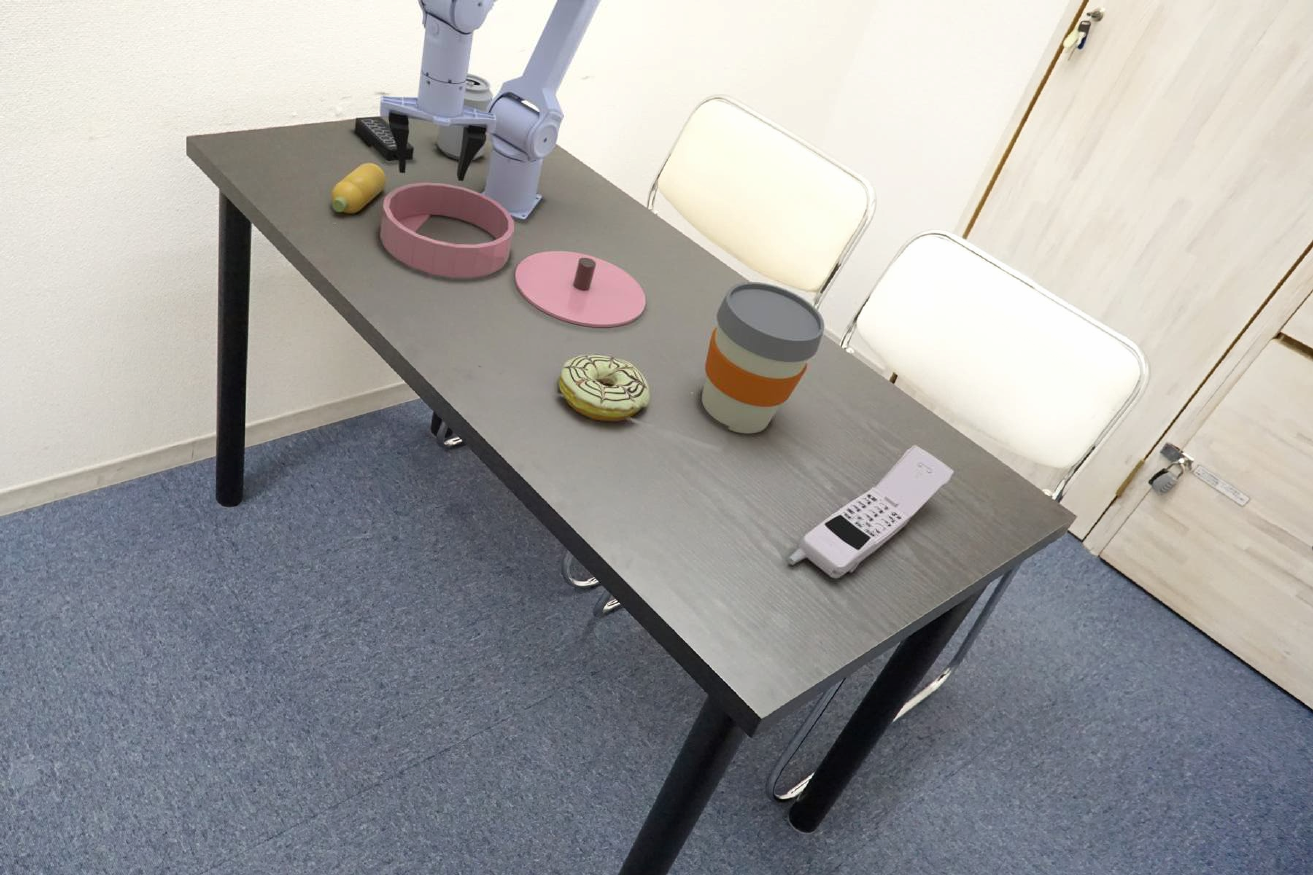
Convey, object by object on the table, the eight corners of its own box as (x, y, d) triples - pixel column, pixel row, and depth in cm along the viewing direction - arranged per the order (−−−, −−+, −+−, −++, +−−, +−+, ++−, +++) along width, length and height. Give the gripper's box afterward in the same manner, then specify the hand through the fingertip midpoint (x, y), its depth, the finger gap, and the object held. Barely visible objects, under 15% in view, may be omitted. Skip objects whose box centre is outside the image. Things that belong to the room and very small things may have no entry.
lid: (536, 244, 138) (542, 213, 135) (654, 284, 138) (663, 255, 135) (495, 302, 124) (501, 269, 121) (628, 347, 124) (637, 315, 121)
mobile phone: (957, 470, 111) (846, 556, 94) (936, 507, 115) (825, 596, 98) (915, 441, 114) (799, 519, 97) (895, 478, 117) (780, 559, 100)
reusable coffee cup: (717, 448, 112) (758, 345, 103) (670, 382, 120) (704, 281, 111) (801, 437, 119) (847, 339, 109) (751, 376, 126) (790, 279, 117)
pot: (410, 203, 138) (414, 170, 135) (523, 241, 138) (529, 209, 135) (358, 253, 124) (361, 218, 121) (483, 295, 124) (490, 261, 121)
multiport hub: (379, 130, 153) (380, 116, 152) (413, 162, 148) (415, 148, 146) (353, 131, 150) (354, 117, 149) (387, 164, 145) (388, 149, 144)
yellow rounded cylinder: (360, 182, 138) (363, 154, 136) (388, 193, 138) (392, 165, 136) (320, 214, 128) (323, 185, 126) (351, 226, 129) (355, 197, 126)
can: (488, 150, 158) (499, 80, 151) (476, 167, 152) (488, 94, 145) (443, 137, 157) (453, 65, 150) (430, 153, 151) (439, 79, 144)
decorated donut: (661, 414, 114) (670, 390, 112) (592, 437, 108) (600, 412, 105) (608, 365, 119) (616, 340, 117) (539, 383, 113) (546, 358, 110)
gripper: (385, 76, 114) (376, 180, 123) (505, 96, 119) (488, 194, 128) (383, 54, 119) (374, 155, 128) (498, 75, 124) (482, 170, 133)
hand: (431, 173), depth 128 cm, fingers open, 7 cm apart
